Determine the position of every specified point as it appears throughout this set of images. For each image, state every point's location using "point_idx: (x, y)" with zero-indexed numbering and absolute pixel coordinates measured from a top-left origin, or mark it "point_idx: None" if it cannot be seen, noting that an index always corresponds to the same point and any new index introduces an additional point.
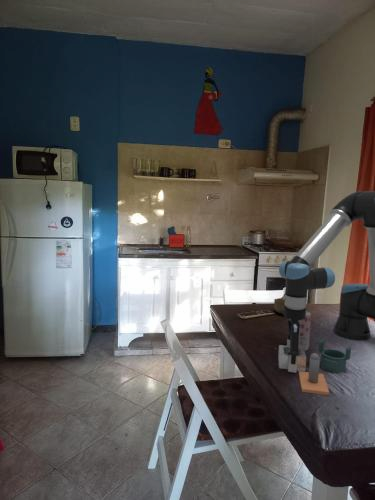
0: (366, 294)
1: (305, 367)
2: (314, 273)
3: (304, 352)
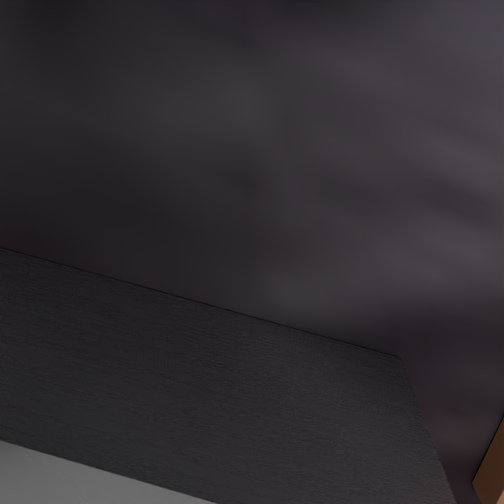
0: None
1: (411, 398)
2: None
3: (88, 479)
